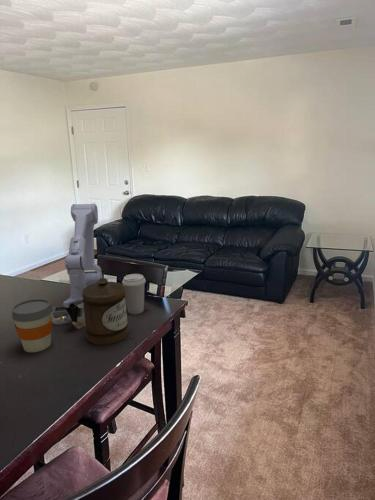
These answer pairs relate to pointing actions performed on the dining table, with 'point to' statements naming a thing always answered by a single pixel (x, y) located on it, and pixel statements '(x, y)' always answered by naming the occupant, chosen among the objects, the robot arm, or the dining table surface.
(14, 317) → the reusable coffee cup
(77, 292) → the robot arm
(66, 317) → the grey frying pan
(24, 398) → the dining table surface
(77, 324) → the coaster
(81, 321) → the grey block
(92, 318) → the wooden container
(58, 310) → the open square box
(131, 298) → the coffee cup
